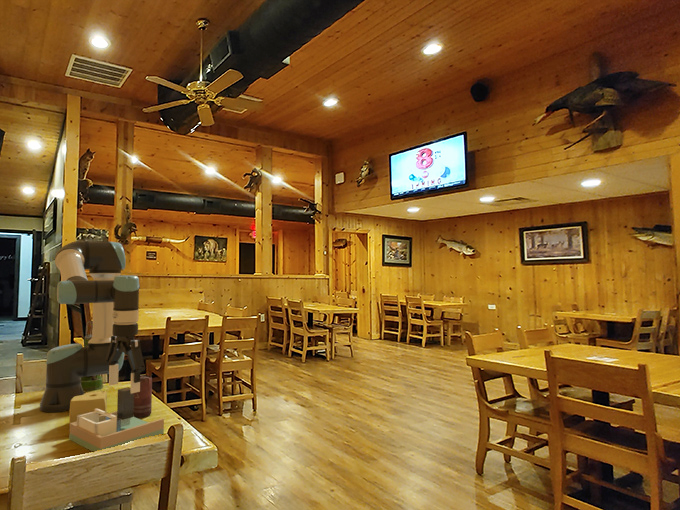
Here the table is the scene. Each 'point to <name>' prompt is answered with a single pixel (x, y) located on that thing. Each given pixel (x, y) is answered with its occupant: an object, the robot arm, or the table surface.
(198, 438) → the table surface
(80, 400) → the cheese
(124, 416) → the block
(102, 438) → the pinkish brown tray
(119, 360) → the robot arm
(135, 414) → the can
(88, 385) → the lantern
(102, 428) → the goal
